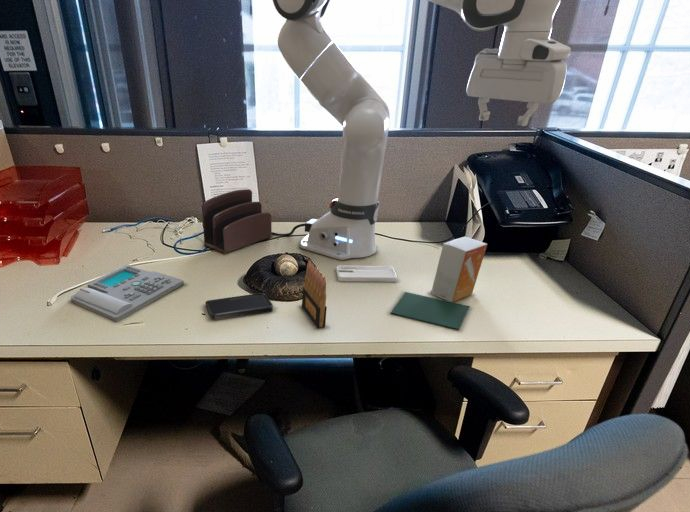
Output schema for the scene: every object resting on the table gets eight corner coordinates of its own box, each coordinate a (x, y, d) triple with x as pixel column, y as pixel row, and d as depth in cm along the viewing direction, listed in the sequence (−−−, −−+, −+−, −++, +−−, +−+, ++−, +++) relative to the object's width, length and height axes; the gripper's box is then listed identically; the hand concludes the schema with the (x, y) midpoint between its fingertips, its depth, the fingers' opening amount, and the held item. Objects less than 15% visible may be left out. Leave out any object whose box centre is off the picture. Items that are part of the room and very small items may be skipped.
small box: (451, 303, 112) (466, 251, 105) (430, 293, 117) (442, 242, 109) (472, 294, 116) (488, 243, 108) (451, 285, 120) (464, 235, 112)
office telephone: (115, 313, 106) (59, 290, 116) (117, 323, 108) (62, 300, 117) (183, 275, 121) (128, 258, 131) (184, 284, 123) (130, 267, 132)
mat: (390, 314, 109) (390, 312, 109) (405, 293, 117) (405, 291, 117) (458, 330, 102) (458, 329, 102) (468, 307, 111) (469, 306, 110)
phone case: (338, 281, 123) (396, 282, 122) (339, 276, 122) (397, 277, 121) (335, 269, 129) (391, 270, 128) (336, 265, 128) (392, 265, 127)
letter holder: (203, 245, 145) (200, 198, 136) (250, 229, 155) (250, 185, 147) (224, 254, 139) (222, 206, 130) (272, 237, 150) (273, 191, 141)
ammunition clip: (325, 327, 104) (330, 277, 97) (317, 328, 104) (321, 278, 97) (308, 305, 113) (312, 258, 106) (301, 306, 112) (304, 258, 105)
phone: (274, 307, 110) (211, 316, 107) (273, 311, 111) (211, 320, 108) (264, 292, 116) (204, 300, 113) (264, 296, 117) (204, 304, 114)
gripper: (469, 48, 104) (453, 118, 113) (562, 50, 91) (537, 130, 99) (486, 47, 107) (470, 116, 115) (579, 49, 93) (553, 127, 102)
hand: (501, 122), depth 107 cm, fingers open, 8 cm apart
